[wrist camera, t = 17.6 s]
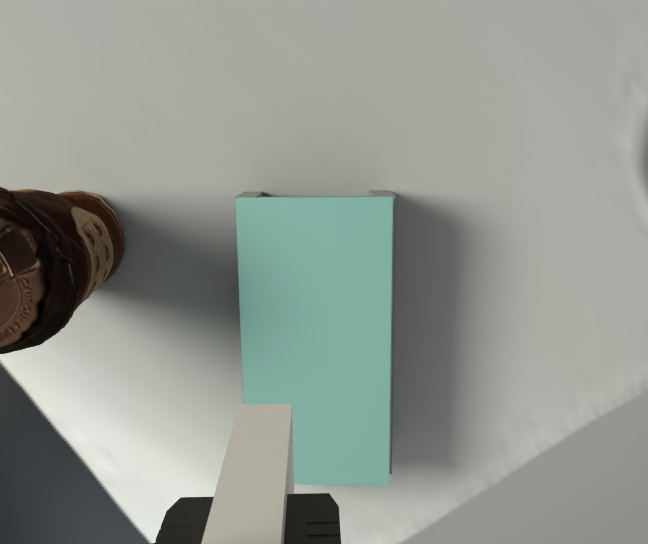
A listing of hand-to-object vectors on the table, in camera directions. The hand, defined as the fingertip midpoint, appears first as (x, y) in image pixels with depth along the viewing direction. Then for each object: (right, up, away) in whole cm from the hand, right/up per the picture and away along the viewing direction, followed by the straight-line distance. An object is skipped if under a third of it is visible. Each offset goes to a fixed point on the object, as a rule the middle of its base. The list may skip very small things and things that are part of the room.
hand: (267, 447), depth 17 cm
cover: (+1, +1, +20) cm, 20 cm away
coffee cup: (-14, +7, +23) cm, 28 cm away
